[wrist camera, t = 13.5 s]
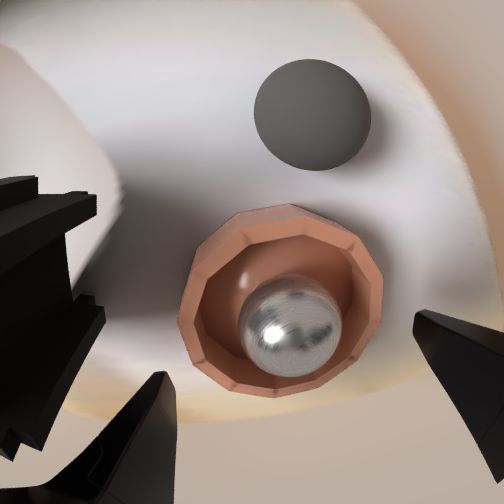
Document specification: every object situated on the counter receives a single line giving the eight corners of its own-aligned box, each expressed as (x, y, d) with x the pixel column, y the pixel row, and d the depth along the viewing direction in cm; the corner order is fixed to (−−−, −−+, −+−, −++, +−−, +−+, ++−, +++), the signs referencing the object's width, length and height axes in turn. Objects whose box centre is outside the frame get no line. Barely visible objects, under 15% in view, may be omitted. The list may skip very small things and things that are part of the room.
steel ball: (225, 269, 12) (231, 322, 8) (318, 249, 12) (361, 291, 8) (242, 345, 13) (254, 408, 9) (323, 326, 13) (356, 380, 10)
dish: (166, 227, 12) (153, 246, 9) (353, 193, 12) (382, 203, 10) (211, 374, 14) (211, 408, 12) (356, 341, 15) (375, 369, 12)
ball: (240, 80, 10) (251, 45, 6) (333, 74, 10) (380, 47, 6) (257, 174, 11) (276, 184, 7) (348, 162, 11) (400, 168, 8)
